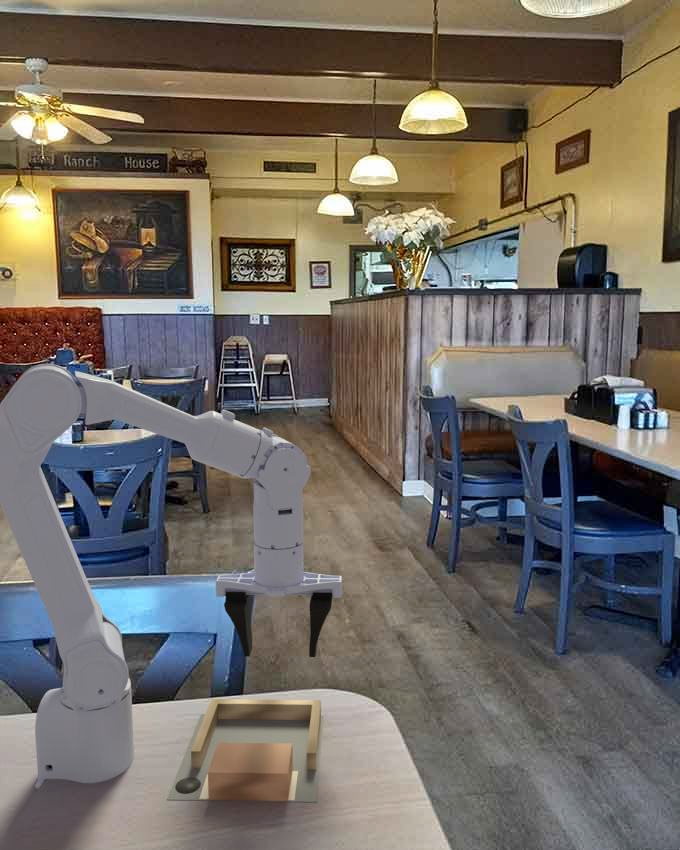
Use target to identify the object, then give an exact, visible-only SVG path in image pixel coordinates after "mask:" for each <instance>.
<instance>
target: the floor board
mask: <svg viewBox="0 0 680 850" xmlns="http://www.w3.org/2000/svg"><path fill="white" fill-rule="evenodd" d="M205 714H206V713H202V714H200V716H199V719H198V720H197V721H198V722H197V724H196V727H195V729H194V731H193V733H192V737H191V739H190V742H189V744H188V747H187V749H186V752H185V753H184V756H183V758H182V761H181V764H180V765H179V769H178V772H177V774H176V776H175V779H174V781H173V784H172V785H171V788H170V791H169V794H168V796H167V799H166V801H196V802H197V801H203V802H205V801H206V802H210V801H211V802H252V801H251V800H209V797H208V770H209V767H210V764H211V761H212V758H213V755H214V752H215V749H216V746H217V743H284V744H292V753H293V771H292V778H291V785H290V792H289V798H288V801H256V802H259V803H261V802H264V803H267V802H268V803H271V802H272V803H274V802H275V803H278V802H279V803H317V799H318V798H317V796H318V787H319V785H318V784H319V774H320V763H321V752H322V751H321V750H322V740H323V729H324V728H323V726H324V715H321V722H320V733H319V744H318V755H317V766H316V770H307V745H308V737H309V728H310V720H261V719H218V721H217V724H216V727H215V730H214V733H213V735H212V738H211V741H210V744H209V747H208V750H207V752H206V755H205V758H204V761H203V764H202V767H201V769H197V768H192V766H191V750H192V747H193V745H194V742H195V740H196V737H197V735H198V732H199V729H200V727H201V724H202V722H203V719H204V717H205Z"/></svg>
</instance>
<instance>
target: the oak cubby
mask: <svg viewBox="0 0 680 850" xmlns="http://www.w3.org/2000/svg"><path fill="white" fill-rule="evenodd" d="M204 714H205V717H204V719H203V722H202V724H201V727H200V729H199V732H198V735H197V737H196V740H195V742H194V745H193V747H192V750H191V766H192V768H197V769H201V767H202V764H203V761H204V758H205V755H206V752H207V750H208V747H209V744H210V741H211V738H212V735H213V733H214V730H215V727H216V724H217V721H218V719H261V720H310V728H309V737H308V745H307V770H316V766H317V755H318V744H319V733H320V722H321V716H322V700H321V699H319V700H316V699H315V700H314V699H313V700H312V699H250V698H249V699H247V698H246V699H243V698H241V699H239V698H238V699H237V698H233V699H232V698H231V699H230V698H229V699H228V698H218V699H217V698H215V699H214V698H211V699H210V701H209V703H208V707H207V709H206V712H205V713H204Z"/></svg>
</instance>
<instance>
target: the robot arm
mask: <svg viewBox="0 0 680 850" xmlns="http://www.w3.org/2000/svg"><path fill="white" fill-rule="evenodd" d="M74 375H75V376H74ZM74 375H73V374H72V373H71V371H69V370H68V369H66V368H65V367H63V366H60V365H58V364H53V363H41V364H40V363H39V364H37V365H34V366H32V367H31V366H30V368H28V369H27V370H26V371H24V372H23V373H22V374H21V375H20V377H19V378H18V379H17V381H16V382H15V383H14V384H13V386H12V387H11V388H10V390H9V391H8V393H7V394H6V395H5V397H4V398H3V400H2V401H1V402H0V507H1V510H2V512H3V514H4V516H5V518H6V521H7V524H8V525H9V527H10V529H11V530H10V531H11V532H12V535H13V537H14V540H15V542H16V544H17V546H18V549H19V551H20V553H21V555H22V558H23V560H24V563H25V565H26V567H27V569H28V572H29V575H30V577H31V579H32V581H33V583H34V586H35V587H36V590H37V593H38V594H39V598H40V599H41V602H42V604H43V607H44V610H45V612H46V614H47V615H48V618H49V620H50V623H51V626H52V629H53V634H54V637H55V641H56V645H57V646H56V647H57V649H58V650H57V651H58V654H59V657H60V658H61V661H62V664H63V670H64V671H63V677H62V678H63V679H62V686H61V687H59V688H53V689H52V688H51V689H49V690H47V691H46V692H45V694H44V695H43V697H42V698H41V700H40V703H39V705H38V708H37V712H36V717H35V725H34V727H35V728H34V735H35V748H36V749H35V751H36V761H37V762H36V765H37V778H38V779H37V782H36V783H35V784H34V786H35V789H36V790H39V789H40V787H41V786H42V784H43V783H44V781H45V780H65V781H67V780H68V781H73V782H75V783H81V784H96V783H97V784H98V783H101V782H105V781H109V780H111V779H114V778H116V777H117V776H120V775H121V774H123V773H124V772H126V771H127V770H128V769H129V768H130V767H131V766H132V764H133V762H134V760H135V742H134V725H133V724H134V723H133V722H134V721H133V703H132V702H133V700H132V699H133V698H132V681H131V679H130V677H129V667H128V664H127V663H126V659H125V654H124V649H123V635H122V632H121V629H120V628H119V626H118V625H117V624H116V623H115V621H114V622H113V621H112V620H111V619H109V618H108V617H107V615H105V613H104V611H103V609H102V607H101V605H100V602H99V601H98V600H97V599H96V597H95V596H94V593H93V591H92V588H91V586H90V583H89V581H88V579H87V576H86V574H85V572H84V569H83V566H82V564H81V561H80V560H79V557H78V554H77V552H76V550H75V547H74V544H73V542H72V540H71V537H70V535H69V533H68V530H67V528H66V525H65V522H64V521H63V518H62V515H61V513H60V511H59V507H58V506H57V503H56V501H55V498H54V496H53V493H52V491H51V489H50V487H49V484H48V481H47V479H46V475H45V473H44V472H43V469H42V467H41V465H42V463H43V462H44V460H45V458H46V457H47V455H48V453H49V451H50V450H51V448H52V447H53V446H52V444H54V442H55V441H56V440H57V439H59V438H60V437H61V436H62V435H63V434H64V433H66V431H68V430H69V429H70V428H71V427H72V426H73V425H74V424H75V423H76V421H77V420H78V418H79V416H80V414H82V415H83V420H84V424H85V425H93V424H98V423H102V422H107V421H112V420H115V421H118V422H121V423H124V424H128V425H130V426H134V427H136V428H139V429H142V430H145V431H148V432H150V433H153V434H157V435H158V436H162V437H165V438H168V439H171V440H174V441H177V442H179V443H182V444H185V446H186V449H187V452H188V454H189V456H190V458H191V459H192V460H193V461H194V462H198V463H200V464H203V465H206V466H209V467H212V468H214V469H217V470H219V471H222V472H225V473H227V474H229V475H233V476H236V477H238V478H241V479H247V480H248V479H252V480H253V506H252V510H253V512H252V513H253V515H252V516H253V560H254V561H253V569H254V571H252V572H251V571H250V572H242V573H235V574H219V575H218V576H217V577H216V580H215V597H217V598H218V597H219V598H223V597H225V599H224V600H225V601H224V604H223V607H224V610H225V612H226V613H227V616H229V619H230V620H231V622H232V624H233V626H234V627H235V630H236V632H237V636H238V638H239V641H240V645H241V648H242V654H243V657H250V656H251V653H252V650H253V633H252V617H251V614H252V607H251V606H252V596H255V595H256V596H257V595H258V596H259V595H260V596H261V595H262V596H264V595H265V596H267V597H268V598H269V597H270V598H282V597H285V596H311V597H310V601H309V626H310V627H309V628H310V635H309V645H308V646H309V647H308V649H309V650H308V656H309V658H316V656H317V655H316V654H317V645H318V641H319V637H320V633H321V631H322V629H323V625H324V623H325V621H326V619H327V617H328V615H329V613H330V611H331V608H332V605H333V598H334V599H335V598H336V599H337V598H338V599H339V598H341V599H342V594H343V591H342V590H343V588H342V587H343V585H342V584H343V577H342V575H332V574H331V575H329V574H321V573H316V572H308V571H305V570H304V569H305V567H304V566H305V565H304V564H305V561H304V560H305V559H304V558H305V557H304V501H303V500H304V499H303V494H304V493H303V488H304V487H305V486H306V484H307V482H308V481H309V479H310V477H311V472H312V466H310V465H309V463H308V462H309V461H308V459H307V458H308V457H307V456H306V454H305V453H304V452H303V450H302V449H301V447H299V446H297V445H295V444H294V443H292V442H290V441H288V440H286V439H284V438H283V437H280V436H279V435H278V434H276V433H275V434H274V431H273V430H272V429H269V428H266V427H263V428H262V429H259V428H256V427H253V426H251V425H249V424H246V423H243V422H241V421H239V420H236V419H235V418H236V415H235V413H233V412H231V411H228V410H226V409H221V412H220V413H219V412H218V411H214V410H209V411H207V412H204V413H201V414H198V415H192V414H190V413H188V412H185V411H182V410H180V409H177V407H173V406H171V405H169V404H167V403H164V402H162V401H160V400H158V399H155V398H152V397H150V396H148V395H145V394H143V393H141V392H139V391H137V390H134V389H133V388H132V389H131V388H130V387H127V386H125V385H123V384H120V383H118V382H116V381H113V380H110V379H107V378H104V377H100V376H97V375H93V374H89V373H85V372H82V371H77V370H75V371H74Z"/></svg>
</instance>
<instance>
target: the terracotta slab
mask: <svg viewBox="0 0 680 850" xmlns="http://www.w3.org/2000/svg"><path fill="white" fill-rule="evenodd" d="M292 771H293V753H292V744H284V743H217V746H216V749H215V752H214V755H213V758H212V761H211V764H210V767H209V770H208V797H209V800H251V801H250V802H257V801H288V798H289V792H290V785H291V778H292Z"/></svg>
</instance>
